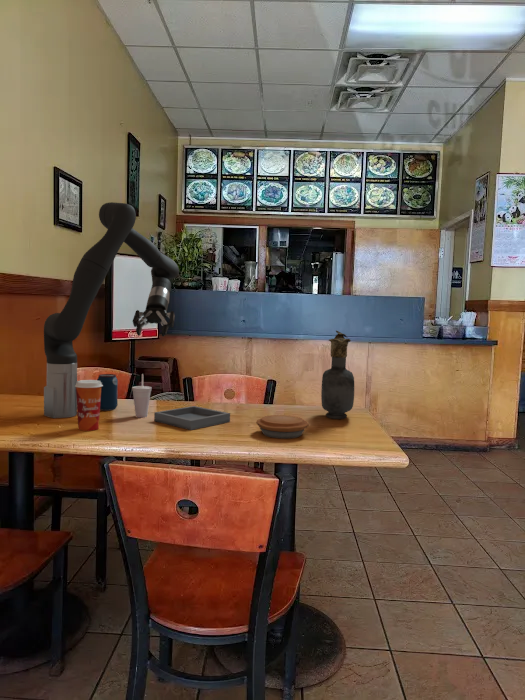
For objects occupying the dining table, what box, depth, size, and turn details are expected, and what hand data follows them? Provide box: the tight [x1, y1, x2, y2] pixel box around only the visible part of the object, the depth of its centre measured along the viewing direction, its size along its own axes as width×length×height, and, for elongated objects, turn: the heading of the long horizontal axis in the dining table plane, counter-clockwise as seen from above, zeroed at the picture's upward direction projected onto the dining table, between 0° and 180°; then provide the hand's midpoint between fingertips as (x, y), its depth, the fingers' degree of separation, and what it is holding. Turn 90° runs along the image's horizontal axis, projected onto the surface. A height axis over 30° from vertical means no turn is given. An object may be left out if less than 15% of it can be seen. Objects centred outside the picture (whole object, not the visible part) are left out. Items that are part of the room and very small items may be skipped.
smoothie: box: [131, 373, 153, 418], centre depth 172 cm, size 6×6×14 cm
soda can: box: [96, 373, 119, 411], centre depth 183 cm, size 7×7×12 cm
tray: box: [153, 405, 231, 431], centre depth 167 cm, size 17×17×3 cm
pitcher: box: [320, 330, 355, 420], centre depth 182 cm, size 11×19×30 cm, turn 176°
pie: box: [255, 414, 310, 440], centre depth 154 cm, size 15×16×5 cm
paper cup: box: [75, 379, 103, 432], centre depth 153 cm, size 8×8×14 cm
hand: (150, 334), depth 182 cm, fingers open, 8 cm apart
